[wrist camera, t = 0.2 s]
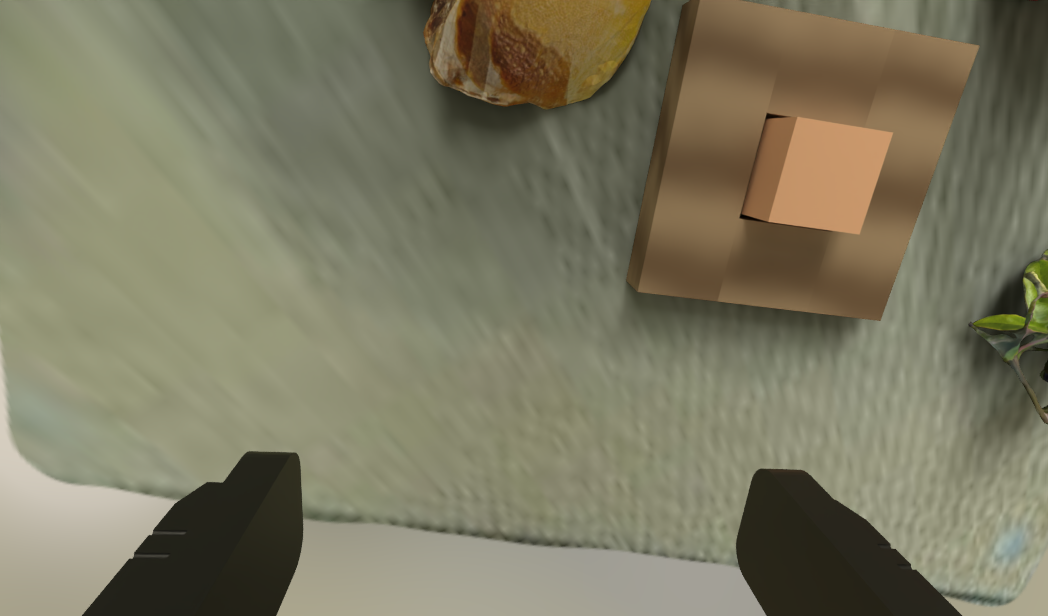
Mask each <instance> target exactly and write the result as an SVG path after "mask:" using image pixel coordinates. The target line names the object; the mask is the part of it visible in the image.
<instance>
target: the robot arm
mask: <svg viewBox="0 0 1048 616" xmlns="http://www.w3.org/2000/svg"><path fill="white" fill-rule="evenodd" d="M302 540H303V512H302V491H301V469H300V459H299V456H298V454H297V453H287V452H256V451H249V452H247V453H245V454H244V455H243V457H242V458H241V459H240V461H239V462H238V463H237V465H236V466H235V467H234V469H233V470H232V471H231V473H230V474H229V475H228V477H227V478H226V479H225V481H224V482H223V483H218V482H207V483H205V484H204V485H202V486H201V487H199V488H198V489H196V490H195V491H193V492H192V493H190V494H189V495H187V496H186V497H184V498H183V499H181V500H180V501H178V502H177V503H175V504H174V506H173V507H172V508H171V509H170V510H169V512H168V513H167V514H166V515H165V516H164V518H163V519H162V520H161V521H160V522H159V524H158V525H157V526H156V527H155V528H154V530H153V534H152V535H149V536H148V537H147V538H146V539H145V540H144V542H143V543H142V544H141V545H140V547H139V548H138V549H137V550H136V552H134V557H133V559H129V560H128V561H127V562H126V563H125V565H124V566H123V567H122V568H121V569H120V571H119V572H118V573H117V574H116V575H115V576H114V578H113V579H112V580H111V581H110V583H109V584H108V585H107V586H106V587H105V589H104V590H103V591H102V592H101V593H100V595H99V596H98V597H97V598H96V599H95V601H94V602H93V603H92V604H91V605H90V607H89V608H88V609H87V610H86V611H85V613H84V614H83V615H82V616H276V615H277V612H278V610H279V608H280V606H281V603H282V601H283V599H284V596H285V594H286V591H287V589H288V587H289V585H290V582H291V580H292V578H293V575H294V573H295V570H296V568H297V565H298V561H299V557H300V553H301V547H302ZM736 552H737V559H738V564H739V567H740V570H741V572H742V575H743V577H744V578H745V580H746V582H747V583H748V585H749V587H750V589H751V590H752V592H753V594H754V595H755V597H756V598H757V600H758V602H759V604H760V605H761V607H762V609H763V610H764V612H765V614H766V615H767V616H962V615H961V614H960V613H959V612H958V611H957V610H956V609H955V608H954V607H953V606H952V605H951V604H950V603H949V602H948V601H947V600H946V599H945V598H944V597H943V596H942V595H941V594H940V593H939V592H938V591H937V590H936V589H935V588H934V587H933V586H932V585H931V584H930V583H929V582H928V581H927V580H926V579H925V578H924V577H923V576H922V575H921V574H920V573H919V572H918V571H917V570H912V568H911V564H910V563H909V562H908V561H907V560H906V559H905V558H904V557H903V556H902V555H901V554H900V553H899V552H898V551H897V550H896V549H891V547H890V543H889V542H888V541H887V540H886V539H885V538H884V537H883V536H882V535H881V534H880V533H879V532H878V531H877V530H876V529H875V528H874V527H873V526H872V525H871V524H870V523H869V522H868V521H867V520H865V519H864V518H862V517H861V516H859V515H858V514H856V513H855V512H853V511H852V510H850V509H849V508H847V507H846V506H844V505H843V504H841V503H840V502H838V501H837V500H834V499H833V498H832V497H831V496H830V495H829V494H828V493H827V492H826V491H825V490H824V489H823V488H822V487H821V486H820V485H819V484H818V483H817V482H816V481H815V480H814V479H813V478H812V477H811V476H810V475H809V474H808V473H807V472H805V471H803V470H788V469H759V470H758V471H756V473H755V474H754V476H753V478H752V481H751V485H750V489H749V493H748V497H747V500H746V504H745V508H744V512H743V516H742V520H741V524H740V528H739V532H738V536H737V542H736Z"/></svg>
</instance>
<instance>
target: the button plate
mask: <svg viewBox="0 0 1048 616" xmlns="http://www.w3.org/2000/svg"><path fill="white" fill-rule="evenodd" d="M978 49H979V46H978V45H973V44H968V43H962V42H957V41H952V40H947V39H941V38H936V37H931V36H926V35H920V34H915V33H910V32H905V31H899V30H894V29H889V28H884V27H878V26H873V25H868V24H862V23H857V22H852V21H847V20H841V19H836V18H831V17H826V16H820V15H815V14H810V13H805V12H799V11H794V10H789V9H783V8H778V7H773V6H768V5H762V4H757V3H752V2H747V1H741V0H690V1H689V2H687V3H685V4H684V5H683V6H682V11H681V16H680V21H679V26H678V31H677V35H676V40H675V45H674V50H673V55H672V60H671V65H670V70H669V74H668V79H667V84H666V89H665V94H664V99H663V104H662V108H661V113H660V118H659V123H658V128H657V133H656V138H655V143H654V147H653V152H652V157H651V162H650V167H649V172H648V177H647V181H646V186H645V191H644V196H643V201H642V206H641V211H640V215H639V220H638V225H637V230H636V235H635V240H634V245H633V250H632V254H631V259H630V264H629V269H628V274H627V279H626V281H627V282H628V283H629V284H630V285H631V286H632V287H633V288H634V289H635V290H636V291H637V292H642V293H651V294H659V295H668V296H676V297H684V298H693V299H701V300H710V301H718V302H726V303H735V304H743V305H752V306H760V307H768V308H777V309H785V310H794V311H802V312H810V313H819V314H827V315H836V316H844V317H852V318H861V319H869V320H878V321H880V320H881V318H882V315H883V312H884V309H885V306H886V304H887V301H888V298H889V295H890V293H891V290H892V287H893V284H894V282H895V279H896V276H897V273H898V270H899V268H900V265H901V262H902V259H903V257H904V254H905V251H906V248H907V245H908V243H909V240H910V237H911V234H912V232H913V229H914V226H915V223H916V220H917V218H918V215H919V212H920V209H921V207H922V204H923V201H924V198H925V196H926V193H927V190H928V187H929V184H930V182H931V179H932V176H933V173H934V171H935V168H936V165H937V162H938V159H939V157H940V154H941V151H942V148H943V146H944V143H945V140H946V137H947V135H948V132H949V129H950V126H951V123H952V121H953V118H954V115H955V112H956V110H957V107H958V104H959V101H960V98H961V96H962V93H963V90H964V87H965V85H966V82H967V79H968V76H969V74H970V71H971V68H972V65H973V62H974V60H975V57H976V54H977V51H978ZM787 117H802V118H808V119H814V120H820V121H826V122H832V123H838V124H844V125H850V126H856V127H862V128H868V129H875V130H881V131H887V132H893V135H892V138H891V141H890V144H889V147H888V150H887V153H886V156H885V159H884V162H883V165H882V168H881V171H880V174H879V177H878V180H877V183H876V186H875V189H874V192H873V195H872V198H871V201H870V204H869V207H868V211H867V214H866V217H865V220H864V223H863V226H862V229H861V232H860V235H859V234H852V233H845V232H838V231H830V230H823V229H816V228H809V227H802V226H794V225H787V224H780V223H773V222H767V221H764V220H760V219H757V218H753V217H747V216H740V214H741V210H742V206H743V202H744V198H745V195H746V191H747V187H748V183H749V179H750V175H751V172H752V168H753V164H754V160H755V156H756V152H757V149H758V145H759V141H760V137H761V133H762V129H763V126H764V122H765V118H767V119H771V118H787Z"/></svg>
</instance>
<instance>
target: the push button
mask: <svg viewBox="0 0 1048 616" xmlns="http://www.w3.org/2000/svg"><path fill="white" fill-rule="evenodd" d="M892 135H893V132H887V131H881V130H875V129H868V128H862V127H856V126H850V125H844V124H838V123H832V122H826V121H820V120H814V119H808V118H802V117H787V118H771V119H766V121H765V124H764V128H763V132H762V136H761V140H760V143H759V147H758V151H757V155H756V159H755V163H754V166H753V170H752V174H751V178H750V182H749V185H748V189H747V193H746V197H745V201H744V205H743V208H742V212H741V214H743V215H747V216H750V217H753V218H757V219H760V220H764V221H767V222H773V223H780V224H787V225H794V226H802V227H809V228H816V229H823V230H830V231H838V232H845V233H852V234H859V235H860V232H861V229H862V226H863V223H864V220H865V217H866V214H867V211H868V207H869V204H870V201H871V198H872V195H873V192H874V189H875V186H876V183H877V180H878V177H879V174H880V171H881V168H882V165H883V162H884V159H885V156H886V153H887V150H888V147H889V144H890V141H891V138H892Z"/></svg>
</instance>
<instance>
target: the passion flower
mask: <svg viewBox="0 0 1048 616" xmlns="http://www.w3.org/2000/svg"><path fill="white" fill-rule="evenodd" d="M1022 283H1023V288H1024V291H1023V292H1024V300H1025V304H1026V312H1027V315H1026V318H1024V317H1021V316H1018V315H1015V314H1012V315H1006V314H1000V315H994V316H989V317H986V318H983V319H980V320H978V321H976V322H974V323H973V324H972V323H971V322H970V323H969V326H971V327H972V328H973V329H974V330H975V331H976V332H977V333H978V334H979V335H980V336H982V337H983V338H984V339H986V340H987V341H988V342H989V343H990V344H991V345H992V346H993V347H994V348H995V349H996V350H997V351H998V352H999V354H1000V356H1001V357H1002V359H1003V361H1004V362H1006V363H1008V364H1009V365H1010V366H1011V367H1012V368H1013V369H1014V371H1015V372H1016V374H1017V375H1018V377H1019V379H1020V381H1021V382H1022V384H1023V385H1024V387H1025V389H1026V390H1027V392H1028V394H1029V396H1030V398H1031V400H1032V402H1033V404H1034V406H1035V408H1036V411H1037V413H1038V414H1039V415H1040V417H1041V419H1042V420H1043V422H1044V423H1046V424H1048V406H1046V407H1044V408H1041V407H1040V405H1039V402H1038V400H1037V397H1036V395H1035V393H1034V391H1033V390H1032V389H1031V387H1030V386H1029V384H1028V382H1027V380H1026V378H1025V377H1024V374H1023V373H1022V371H1021V369H1020V365H1019V358H1020V356H1021V354H1022V353H1023V352H1025V351H1048V349H1042V348H1036V347H1035V346H1036V345H1038V344H1042V343H1048V249H1047V250H1046V251H1045V252H1044V253H1043V254H1042V257H1041V258H1040V259H1039V260H1037V261H1034V262H1032V263H1030V264H1029V265H1028V266H1027V268H1026V270H1025V272H1024V275H1023V280H1022ZM978 327H982V328H988V329H995V330H1001V331H1007V332H1011V333H1013V334H1015V335H1016V337H1017V338H1016V339H1014V338H1011V337H1009V336H1008V335H1005V334H1000V335H995V336H994V335H989V334H987V333H986V332H984V331H982V330H980V329H979V328H978ZM1028 335H1034V336H1035V337H1034V338H1033V340H1032V341H1030V342H1029V343H1026V344H1024V345H1022V346H1020V342H1021V340H1022V339H1023V338H1024V337H1026V336H1028ZM1040 376H1041V378H1042V379H1043V380H1045V381H1046V382H1048V360H1047V362H1046V363H1045V366H1044V369H1043V370H1042V372H1041V373H1040Z"/></svg>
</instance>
